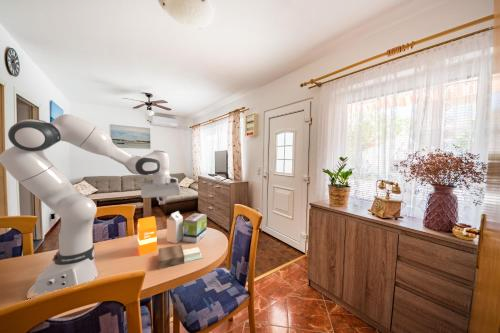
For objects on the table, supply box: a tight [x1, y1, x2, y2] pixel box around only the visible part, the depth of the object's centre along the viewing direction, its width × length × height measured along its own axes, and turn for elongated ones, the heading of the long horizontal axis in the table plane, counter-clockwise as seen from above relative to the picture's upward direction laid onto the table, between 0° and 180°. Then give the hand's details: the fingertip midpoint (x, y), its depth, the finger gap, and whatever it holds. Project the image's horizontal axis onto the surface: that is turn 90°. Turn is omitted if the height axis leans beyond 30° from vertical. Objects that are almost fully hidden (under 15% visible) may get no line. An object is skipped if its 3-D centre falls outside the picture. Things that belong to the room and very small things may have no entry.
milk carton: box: [166, 210, 184, 244], centre depth 125 cm, size 7×7×19 cm
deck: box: [158, 244, 185, 270], centre depth 103 cm, size 12×14×4 cm
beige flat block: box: [182, 246, 201, 259], centre depth 108 cm, size 9×6×2 cm, turn 116°
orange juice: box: [136, 215, 158, 256], centre depth 112 cm, size 8×9×20 cm
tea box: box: [182, 212, 208, 244], centre depth 130 cm, size 15×10×15 cm, turn 168°
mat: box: [184, 251, 204, 263], centre depth 108 cm, size 10×12×1 cm
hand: (161, 204), depth 107 cm, fingers closed
